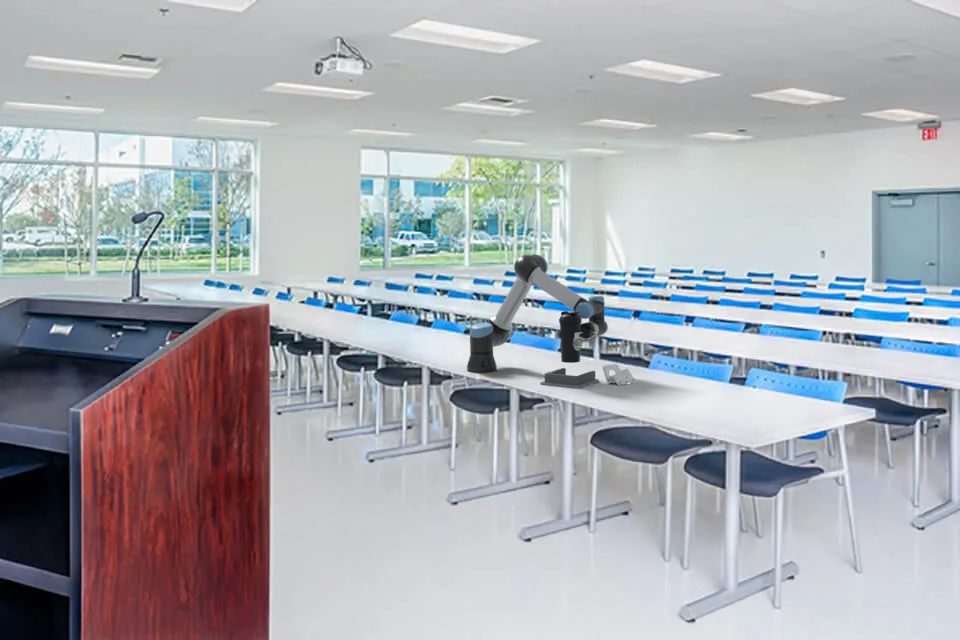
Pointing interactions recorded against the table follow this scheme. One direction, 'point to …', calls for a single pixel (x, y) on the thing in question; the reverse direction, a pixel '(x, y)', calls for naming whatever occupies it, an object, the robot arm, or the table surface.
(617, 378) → the mounting bracket
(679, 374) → the table surface
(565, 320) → the water bottle
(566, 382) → the walled base tray
